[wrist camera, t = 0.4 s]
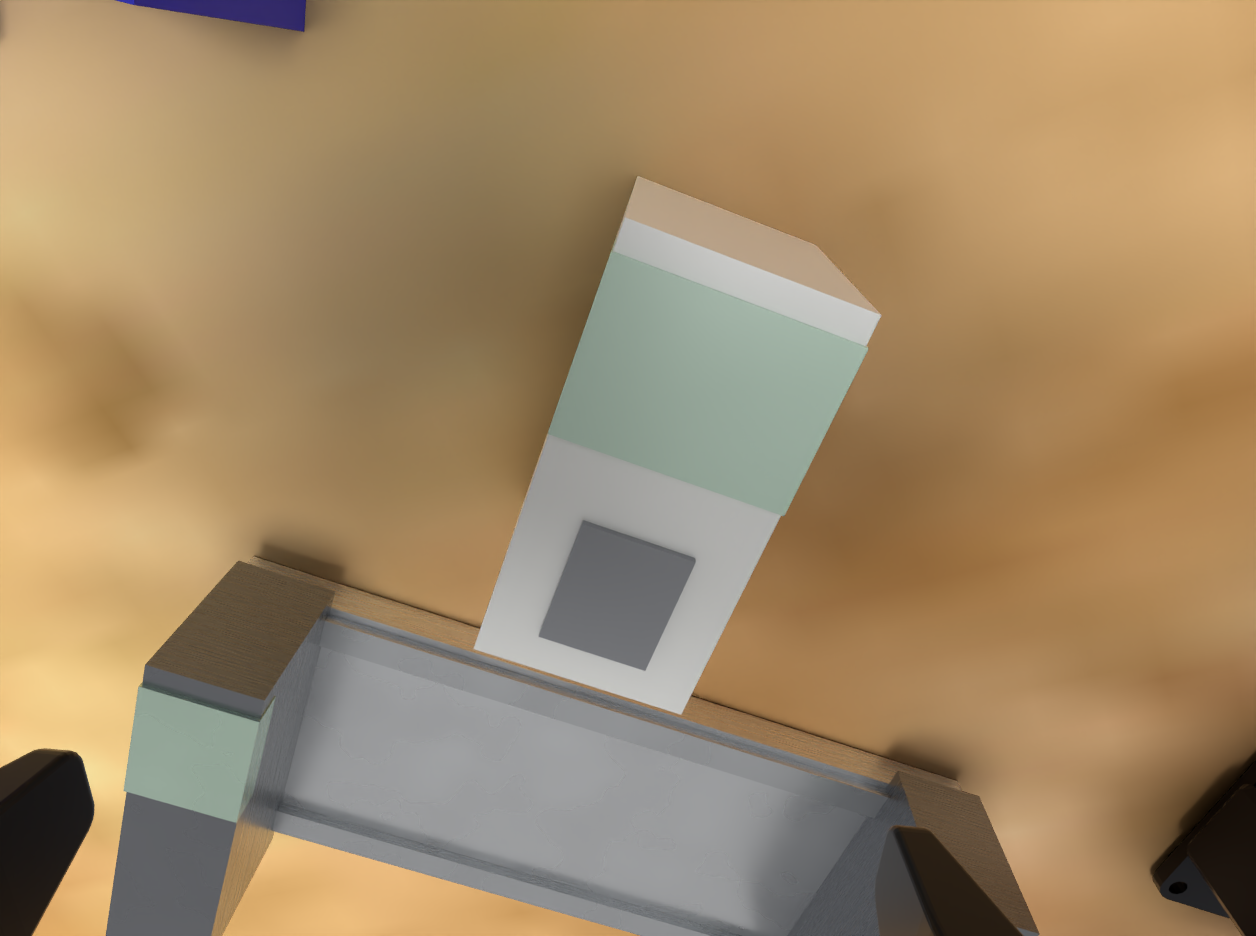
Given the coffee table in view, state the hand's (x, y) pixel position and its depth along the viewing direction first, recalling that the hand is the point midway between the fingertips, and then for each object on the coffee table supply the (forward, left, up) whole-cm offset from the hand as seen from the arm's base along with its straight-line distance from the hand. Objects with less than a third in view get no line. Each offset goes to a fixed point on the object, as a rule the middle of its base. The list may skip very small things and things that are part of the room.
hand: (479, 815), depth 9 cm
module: (-1, -2, -12) cm, 12 cm away
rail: (-3, +10, -11) cm, 16 cm away
